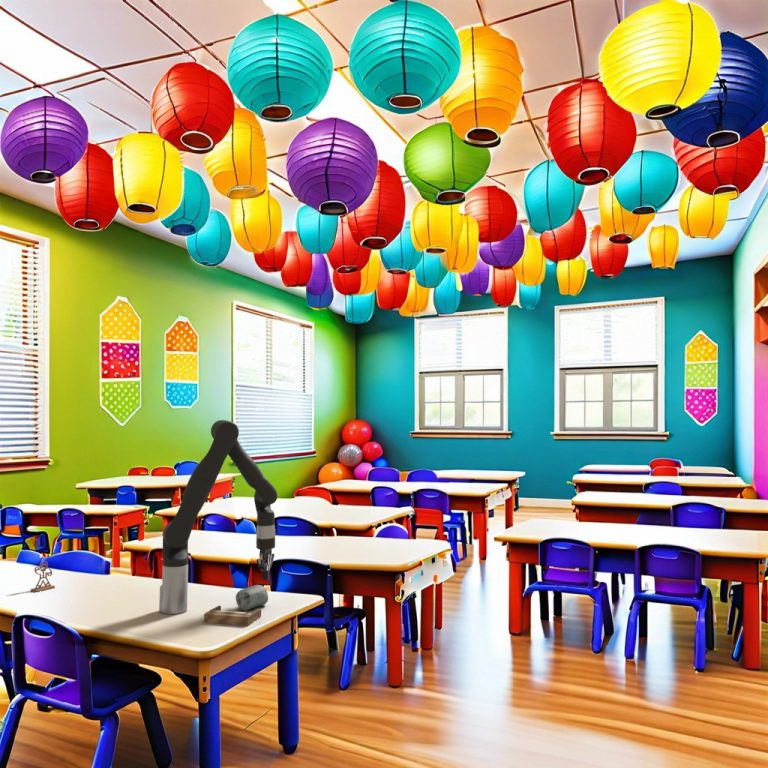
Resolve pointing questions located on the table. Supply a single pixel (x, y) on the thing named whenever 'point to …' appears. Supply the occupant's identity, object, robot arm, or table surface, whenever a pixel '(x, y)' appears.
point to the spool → (251, 597)
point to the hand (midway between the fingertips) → (265, 579)
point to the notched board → (231, 617)
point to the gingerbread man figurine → (42, 578)
